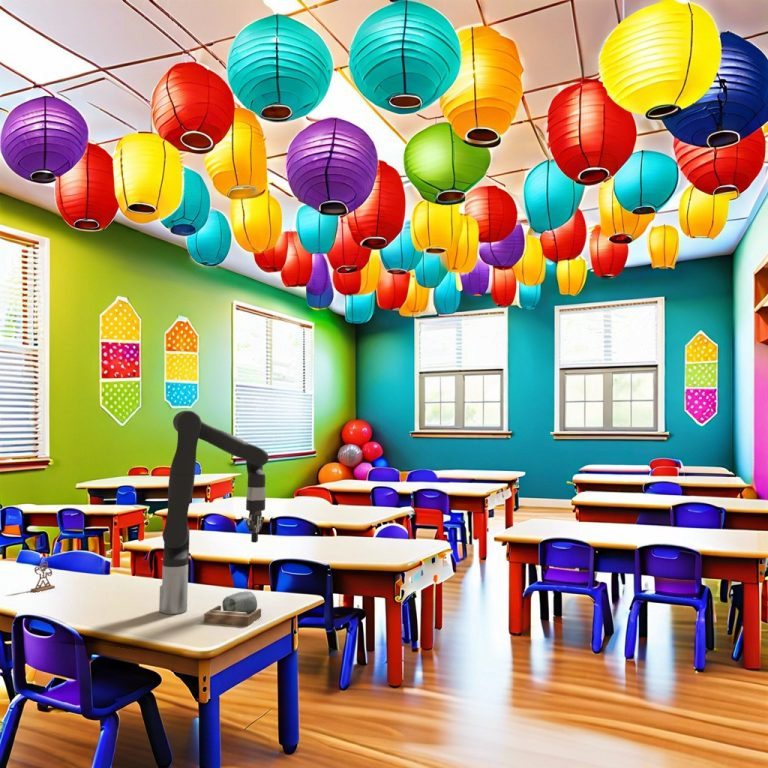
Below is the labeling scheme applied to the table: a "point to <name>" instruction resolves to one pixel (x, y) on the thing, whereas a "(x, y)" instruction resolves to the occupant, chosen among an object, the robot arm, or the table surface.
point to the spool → (240, 602)
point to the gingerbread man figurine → (42, 578)
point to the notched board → (231, 617)
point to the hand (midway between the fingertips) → (254, 542)
